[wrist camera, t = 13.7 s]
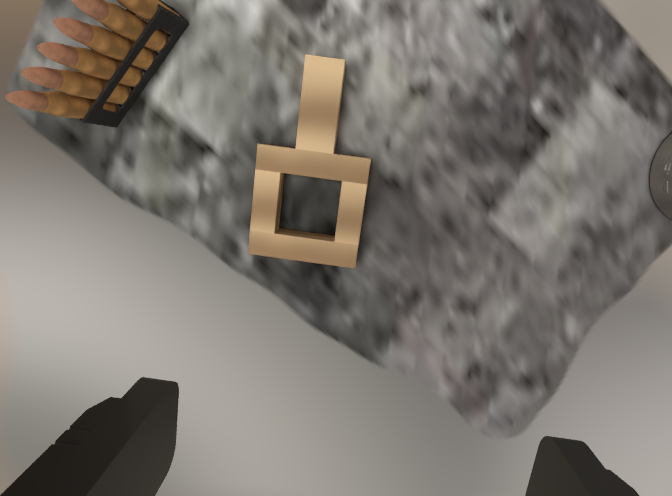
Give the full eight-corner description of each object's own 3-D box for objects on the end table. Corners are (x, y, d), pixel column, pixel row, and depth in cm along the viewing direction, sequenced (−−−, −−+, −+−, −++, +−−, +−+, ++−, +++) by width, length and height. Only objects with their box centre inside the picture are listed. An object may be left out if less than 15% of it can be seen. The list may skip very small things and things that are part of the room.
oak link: (272, 55, 37) (266, 49, 34) (382, 70, 36) (384, 64, 34) (254, 247, 40) (247, 253, 38) (354, 260, 40) (354, 268, 38)
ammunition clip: (171, 6, 36) (83, -60, 24) (190, 23, 36) (111, -35, 25) (98, 113, 38) (-16, 99, 26) (116, 127, 38) (11, 120, 27)
